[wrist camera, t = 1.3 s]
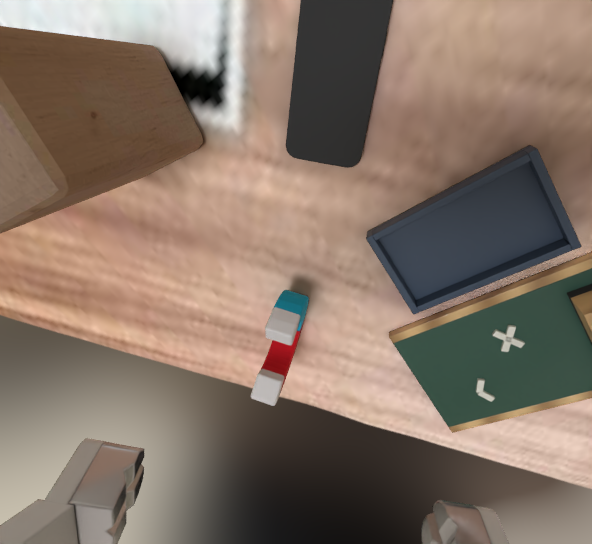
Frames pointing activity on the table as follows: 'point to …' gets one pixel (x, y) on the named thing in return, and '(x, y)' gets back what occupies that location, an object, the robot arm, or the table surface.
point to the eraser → (583, 307)
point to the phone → (335, 78)
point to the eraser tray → (475, 232)
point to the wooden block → (82, 120)
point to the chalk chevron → (481, 392)
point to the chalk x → (508, 338)
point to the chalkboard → (498, 364)
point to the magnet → (280, 345)
